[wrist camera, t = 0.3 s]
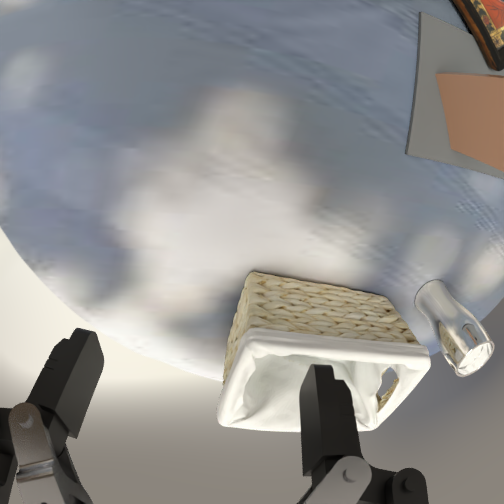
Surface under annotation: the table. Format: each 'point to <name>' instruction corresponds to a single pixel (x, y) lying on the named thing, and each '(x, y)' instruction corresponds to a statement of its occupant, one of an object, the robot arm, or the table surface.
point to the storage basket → (313, 352)
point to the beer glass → (454, 329)
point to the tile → (474, 114)
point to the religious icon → (486, 28)
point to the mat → (428, 95)
